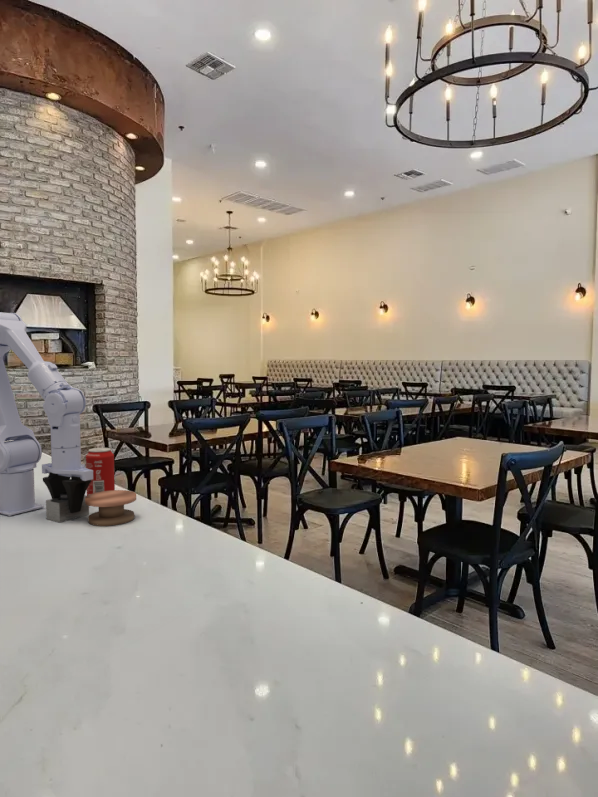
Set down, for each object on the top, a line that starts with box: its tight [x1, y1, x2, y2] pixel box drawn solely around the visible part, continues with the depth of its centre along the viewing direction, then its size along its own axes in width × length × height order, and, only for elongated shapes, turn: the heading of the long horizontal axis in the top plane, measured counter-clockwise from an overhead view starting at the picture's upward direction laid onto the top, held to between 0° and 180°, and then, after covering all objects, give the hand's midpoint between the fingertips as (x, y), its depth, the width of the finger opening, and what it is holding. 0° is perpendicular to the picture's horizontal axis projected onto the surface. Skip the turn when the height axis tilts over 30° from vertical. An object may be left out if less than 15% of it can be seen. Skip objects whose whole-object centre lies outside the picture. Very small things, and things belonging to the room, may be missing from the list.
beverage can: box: [85, 447, 116, 496], centre depth 129 cm, size 6×6×12 cm
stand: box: [85, 489, 137, 527], centre depth 113 cm, size 10×10×5 cm
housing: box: [45, 492, 90, 523], centre depth 115 cm, size 4×7×5 cm, turn 148°
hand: (67, 510), depth 115 cm, fingers closed on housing, 4 cm apart
